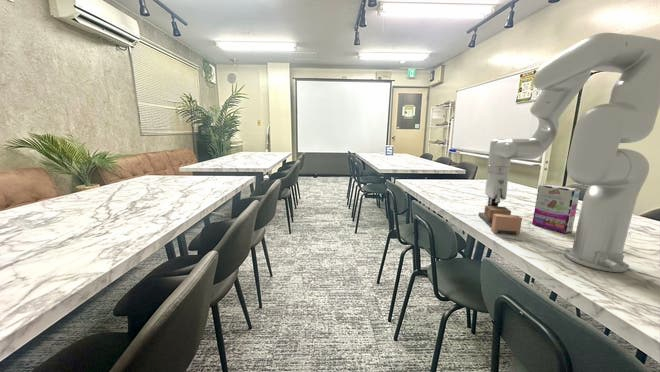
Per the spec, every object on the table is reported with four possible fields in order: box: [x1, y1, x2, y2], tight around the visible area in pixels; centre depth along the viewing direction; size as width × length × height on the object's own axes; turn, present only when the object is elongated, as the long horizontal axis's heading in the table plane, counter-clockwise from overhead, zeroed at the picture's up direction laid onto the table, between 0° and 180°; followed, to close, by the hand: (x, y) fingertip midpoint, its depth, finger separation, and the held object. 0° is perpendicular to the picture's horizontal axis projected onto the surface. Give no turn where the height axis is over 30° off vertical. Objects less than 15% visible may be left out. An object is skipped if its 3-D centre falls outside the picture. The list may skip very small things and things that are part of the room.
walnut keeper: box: [483, 205, 512, 222], centre depth 101 cm, size 6×7×5 cm
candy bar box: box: [532, 184, 581, 234], centre depth 97 cm, size 11×5×16 cm, turn 25°
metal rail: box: [478, 212, 517, 236], centre depth 102 cm, size 22×6×2 cm, turn 166°
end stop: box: [490, 214, 523, 237], centre depth 92 cm, size 3×8×6 cm, turn 76°
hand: (491, 213), depth 106 cm, fingers closed
